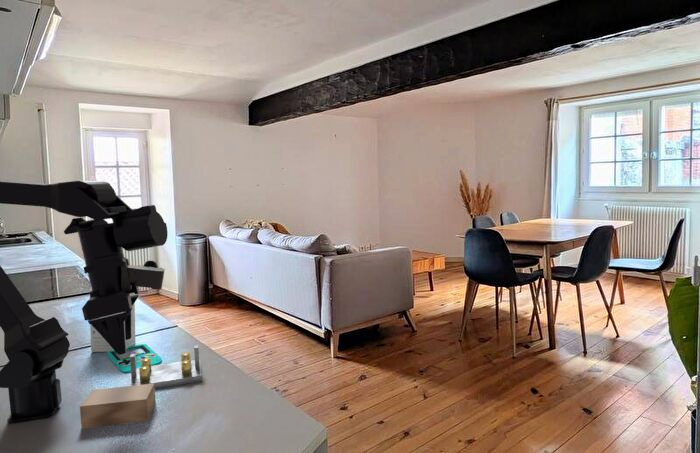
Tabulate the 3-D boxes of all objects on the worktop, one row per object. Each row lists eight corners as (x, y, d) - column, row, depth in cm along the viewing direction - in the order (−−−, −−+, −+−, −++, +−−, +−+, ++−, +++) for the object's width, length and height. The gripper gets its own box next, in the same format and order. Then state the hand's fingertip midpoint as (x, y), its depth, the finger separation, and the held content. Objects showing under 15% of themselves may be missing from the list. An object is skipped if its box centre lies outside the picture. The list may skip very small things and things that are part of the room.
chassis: (128, 393, 86) (126, 364, 85) (133, 374, 94) (131, 347, 94) (201, 381, 90) (200, 353, 90) (199, 364, 99) (198, 339, 98)
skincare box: (90, 353, 106) (85, 290, 105) (103, 343, 112) (99, 284, 111) (127, 351, 107) (123, 289, 105) (138, 342, 113) (134, 283, 111)
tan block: (81, 430, 74) (79, 406, 73) (94, 411, 80) (92, 389, 79) (148, 422, 76) (146, 399, 75) (155, 405, 82) (154, 383, 81)
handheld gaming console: (123, 370, 94) (106, 350, 106) (123, 375, 94) (106, 355, 106) (164, 360, 100) (144, 342, 111) (165, 364, 100) (144, 346, 111)
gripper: (153, 249, 70) (175, 347, 71) (158, 242, 87) (175, 321, 89) (70, 266, 66) (95, 369, 67) (93, 255, 83) (112, 337, 85)
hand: (125, 346), depth 77 cm, fingers open, 9 cm apart
